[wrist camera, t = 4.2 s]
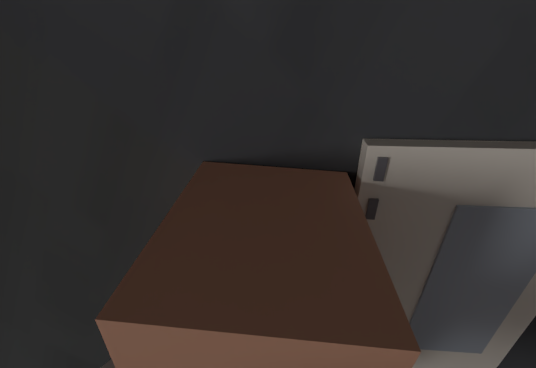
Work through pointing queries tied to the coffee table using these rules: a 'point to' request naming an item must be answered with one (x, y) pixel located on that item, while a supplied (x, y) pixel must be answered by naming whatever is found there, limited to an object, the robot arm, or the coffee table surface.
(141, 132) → the coffee table surface
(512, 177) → the white panel
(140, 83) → the coffee table surface
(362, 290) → the stub
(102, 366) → the robot arm
